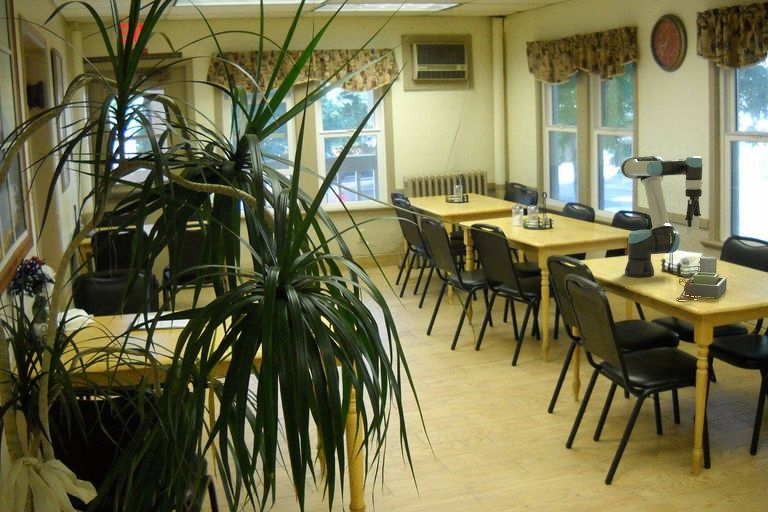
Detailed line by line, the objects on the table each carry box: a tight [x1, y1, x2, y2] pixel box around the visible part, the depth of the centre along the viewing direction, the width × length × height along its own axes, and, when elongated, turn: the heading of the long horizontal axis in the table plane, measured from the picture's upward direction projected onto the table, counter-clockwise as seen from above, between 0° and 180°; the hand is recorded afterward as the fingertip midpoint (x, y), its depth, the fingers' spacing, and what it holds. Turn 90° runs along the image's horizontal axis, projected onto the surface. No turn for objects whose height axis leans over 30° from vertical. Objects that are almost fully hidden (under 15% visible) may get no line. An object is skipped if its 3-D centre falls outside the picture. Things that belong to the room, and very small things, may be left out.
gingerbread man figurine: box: [676, 273, 699, 301], centre depth 412 cm, size 9×4×12 cm, turn 95°
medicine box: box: [698, 256, 718, 273], centre depth 466 cm, size 8×4×9 cm, turn 84°
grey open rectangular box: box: [684, 276, 728, 299], centre depth 425 cm, size 15×20×6 cm
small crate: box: [692, 271, 720, 285], centre depth 424 cm, size 10×8×8 cm
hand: (692, 231), depth 440 cm, fingers open, 13 cm apart
